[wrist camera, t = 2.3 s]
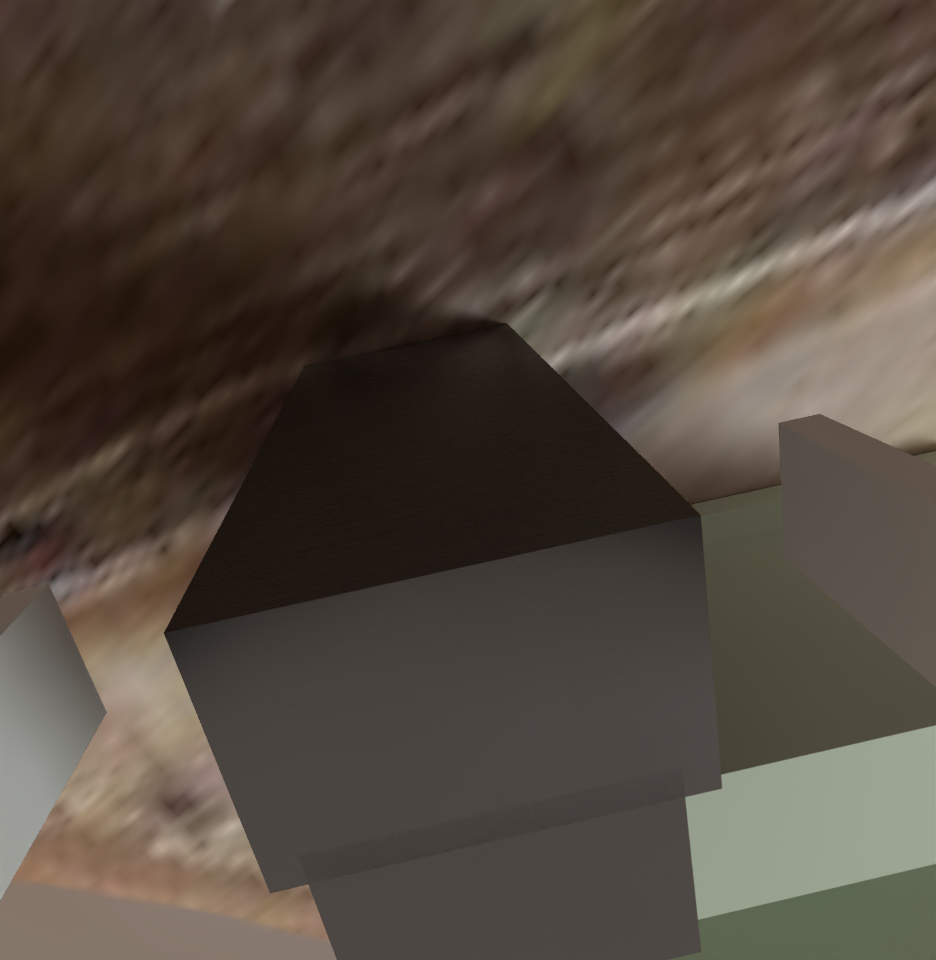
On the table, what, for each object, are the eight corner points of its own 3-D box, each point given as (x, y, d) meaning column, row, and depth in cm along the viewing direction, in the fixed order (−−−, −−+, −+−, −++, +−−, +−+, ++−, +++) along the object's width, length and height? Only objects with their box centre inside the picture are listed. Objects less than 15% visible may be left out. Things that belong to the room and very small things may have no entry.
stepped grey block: (304, 366, 21) (164, 633, 8) (507, 323, 21) (700, 515, 8) (362, 576, 23) (329, 1040, 10) (543, 536, 24) (734, 944, 11)
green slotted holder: (483, 549, 23) (545, 775, 14) (956, 446, 24) (1316, 599, 15) (554, 896, 29) (631, 1216, 20) (933, 807, 30) (1180, 1081, 20)
